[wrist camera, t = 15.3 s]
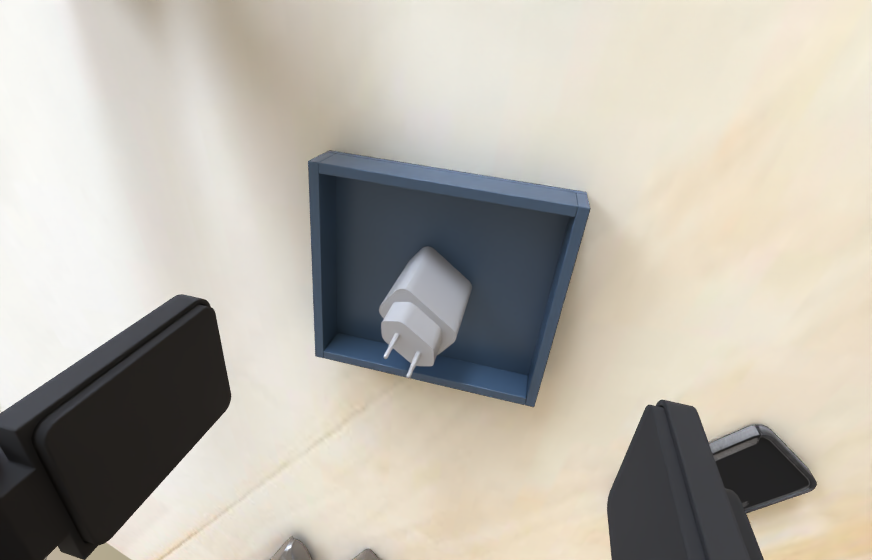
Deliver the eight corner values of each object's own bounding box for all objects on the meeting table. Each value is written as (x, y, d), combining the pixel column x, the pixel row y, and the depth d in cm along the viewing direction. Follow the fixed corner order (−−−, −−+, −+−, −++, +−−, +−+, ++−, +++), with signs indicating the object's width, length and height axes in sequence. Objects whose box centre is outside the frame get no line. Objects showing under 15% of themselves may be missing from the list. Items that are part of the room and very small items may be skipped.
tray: (586, 191, 32) (590, 208, 29) (535, 379, 41) (534, 407, 38) (329, 150, 35) (307, 160, 32) (332, 333, 44) (315, 356, 40)
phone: (610, 496, 44) (767, 430, 36) (609, 486, 44) (762, 420, 37) (662, 542, 45) (823, 488, 38) (660, 532, 46) (816, 477, 39)
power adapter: (427, 242, 36) (377, 324, 26) (476, 287, 37) (446, 383, 27) (403, 266, 38) (347, 352, 27) (451, 308, 38) (414, 407, 28)
